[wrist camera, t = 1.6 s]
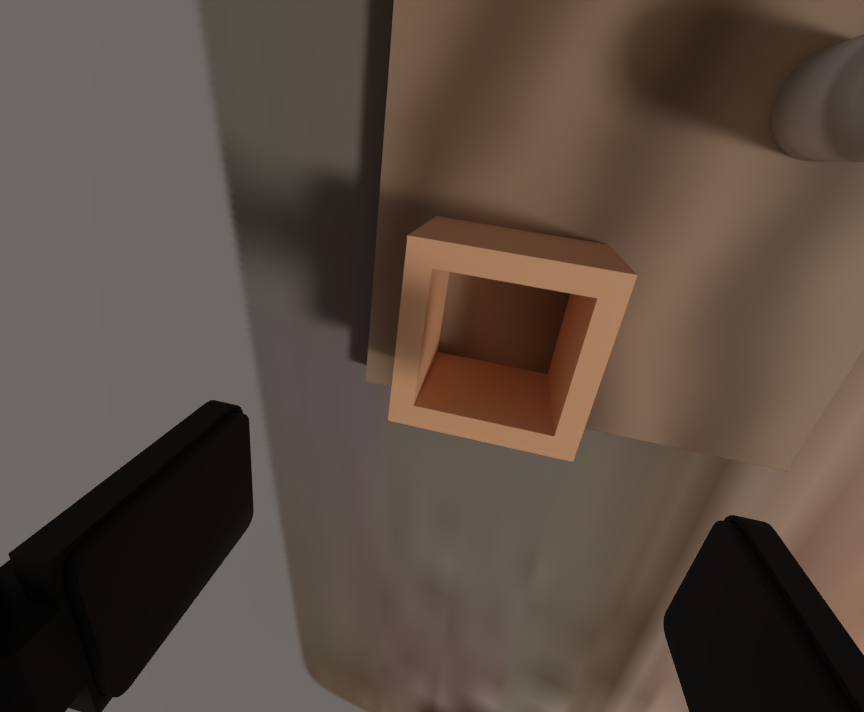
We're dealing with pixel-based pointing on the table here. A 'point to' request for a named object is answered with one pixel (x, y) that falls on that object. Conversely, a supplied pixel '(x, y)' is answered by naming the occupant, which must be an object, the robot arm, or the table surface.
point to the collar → (493, 383)
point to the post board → (644, 198)
